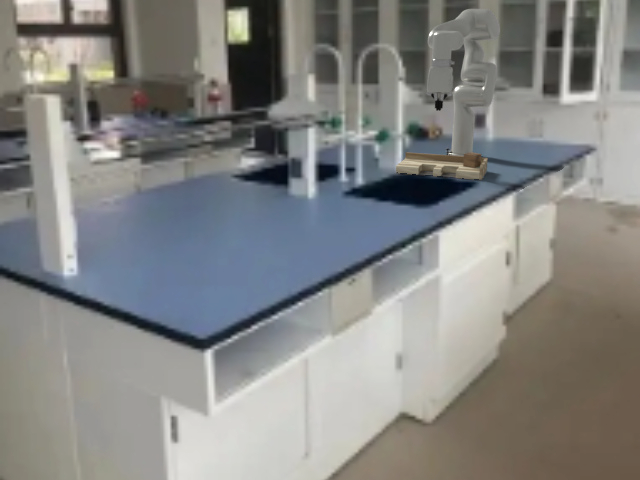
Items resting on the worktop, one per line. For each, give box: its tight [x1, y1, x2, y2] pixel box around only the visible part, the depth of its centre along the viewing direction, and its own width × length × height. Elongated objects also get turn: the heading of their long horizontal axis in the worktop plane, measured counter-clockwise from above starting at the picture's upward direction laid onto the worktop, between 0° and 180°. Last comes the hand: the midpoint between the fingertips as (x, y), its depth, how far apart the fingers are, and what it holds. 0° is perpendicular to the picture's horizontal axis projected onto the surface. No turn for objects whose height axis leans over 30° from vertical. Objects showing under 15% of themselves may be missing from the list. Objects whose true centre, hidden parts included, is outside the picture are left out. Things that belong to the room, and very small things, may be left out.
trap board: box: [395, 151, 489, 181], centre depth 285 cm, size 18×34×6 cm, turn 71°
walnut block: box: [463, 152, 482, 168], centre depth 282 cm, size 5×5×5 cm
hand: (438, 110), depth 287 cm, fingers closed
